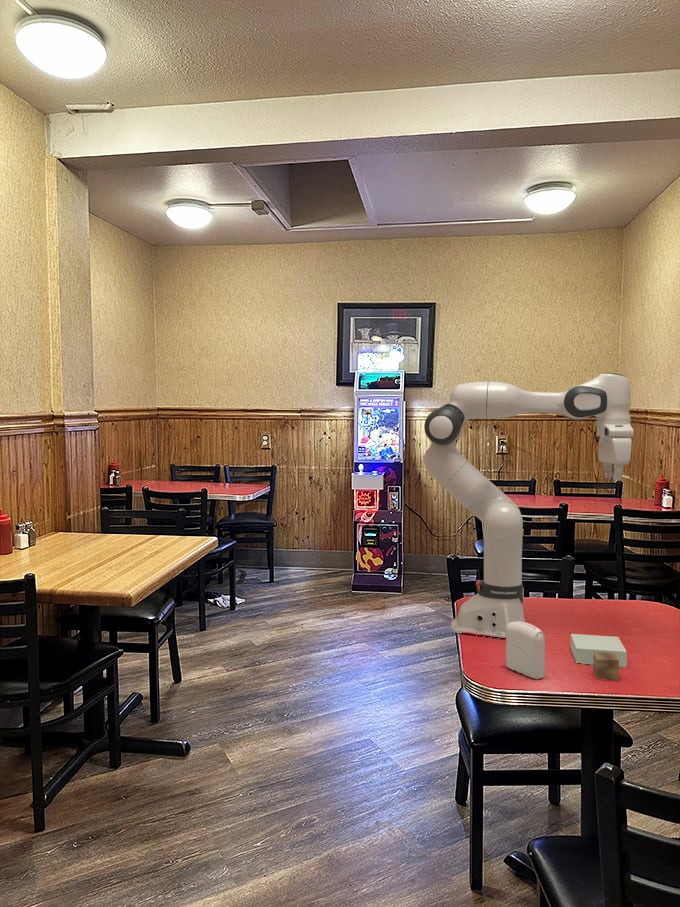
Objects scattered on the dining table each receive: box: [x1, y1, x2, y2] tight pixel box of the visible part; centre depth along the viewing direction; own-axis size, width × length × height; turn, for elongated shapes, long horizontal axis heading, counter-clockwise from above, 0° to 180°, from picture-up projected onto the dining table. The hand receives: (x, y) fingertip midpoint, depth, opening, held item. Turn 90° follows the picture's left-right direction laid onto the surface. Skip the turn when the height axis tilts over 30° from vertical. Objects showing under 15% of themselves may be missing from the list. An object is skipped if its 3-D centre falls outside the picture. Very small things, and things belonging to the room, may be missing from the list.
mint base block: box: [570, 633, 628, 669], centre depth 167 cm, size 12×12×4 cm
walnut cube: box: [592, 652, 620, 682], centre depth 154 cm, size 5×5×5 cm
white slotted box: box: [505, 621, 546, 680], centre depth 156 cm, size 10×4×12 cm, turn 32°
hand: (612, 479), depth 180 cm, fingers open, 8 cm apart
